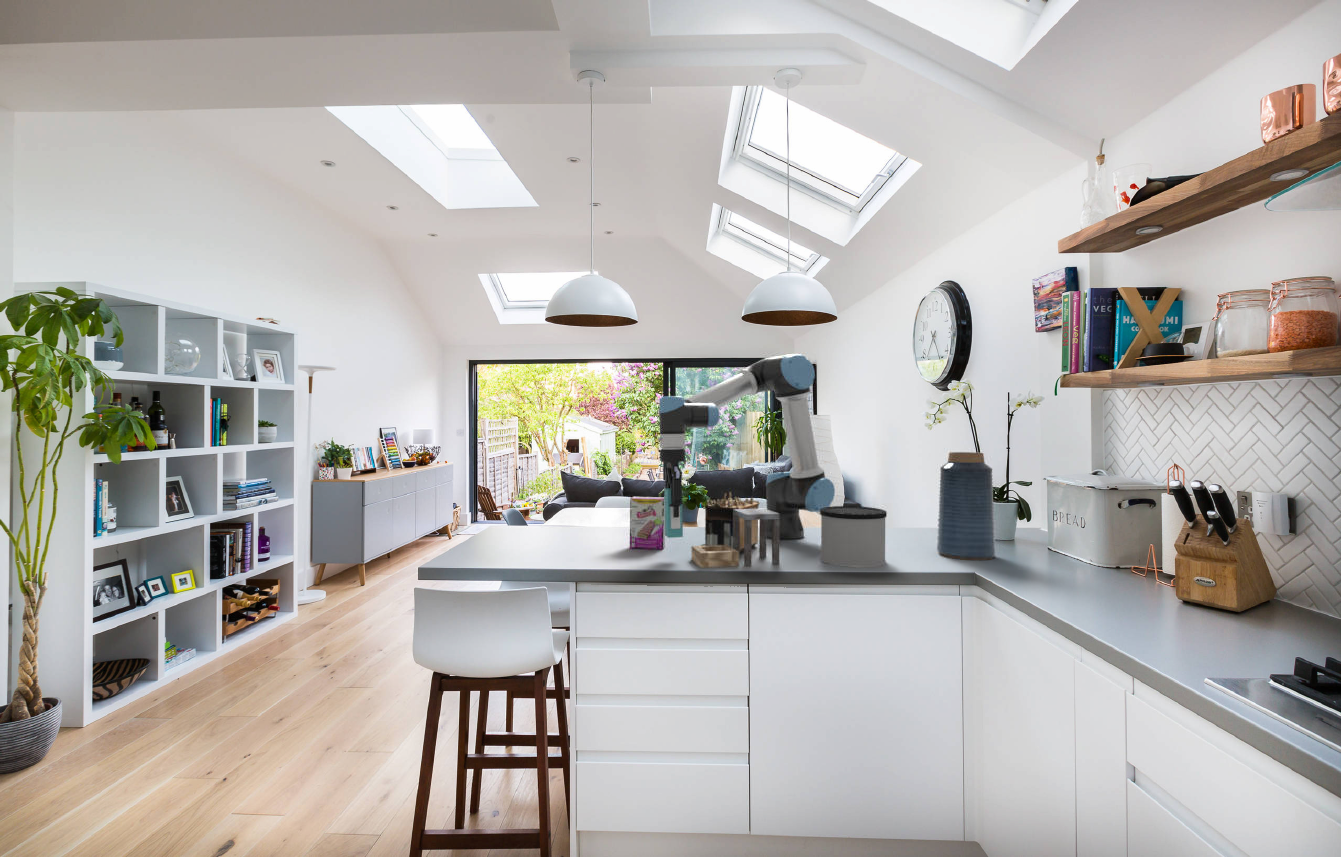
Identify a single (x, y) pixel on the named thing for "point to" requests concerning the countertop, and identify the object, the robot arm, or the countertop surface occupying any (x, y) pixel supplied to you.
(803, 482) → the robot arm
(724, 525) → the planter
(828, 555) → the container
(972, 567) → the countertop surface
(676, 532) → the peg
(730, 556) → the socket station
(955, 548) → the vase
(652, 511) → the candy bar box
